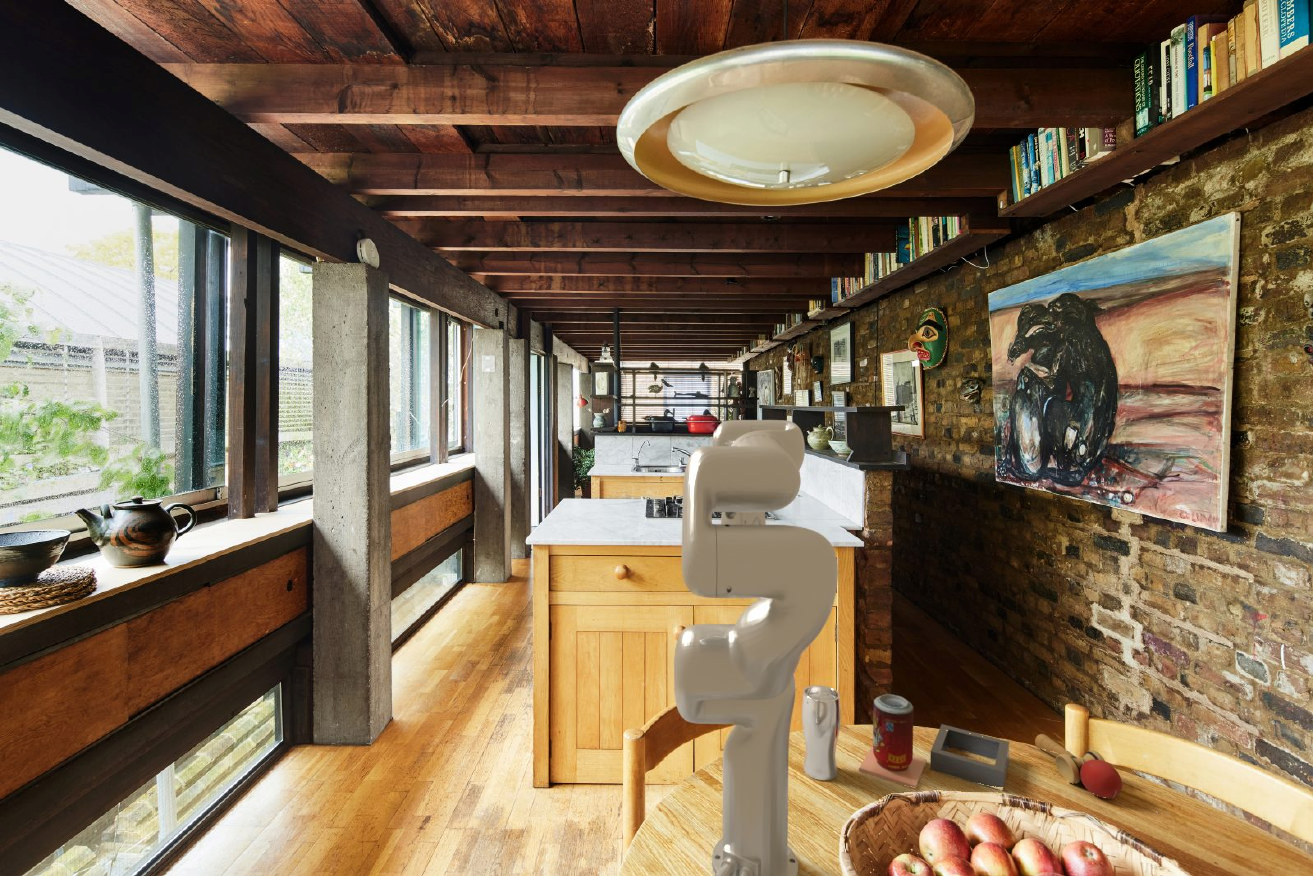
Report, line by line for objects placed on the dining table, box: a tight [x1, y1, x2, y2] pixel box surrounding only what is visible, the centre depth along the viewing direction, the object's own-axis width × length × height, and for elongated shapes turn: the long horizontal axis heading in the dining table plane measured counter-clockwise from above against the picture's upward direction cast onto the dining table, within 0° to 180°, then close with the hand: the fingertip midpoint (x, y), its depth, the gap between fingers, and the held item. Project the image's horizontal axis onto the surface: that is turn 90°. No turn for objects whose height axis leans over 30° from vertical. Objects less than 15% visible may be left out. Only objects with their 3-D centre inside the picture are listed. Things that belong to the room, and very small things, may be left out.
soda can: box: [872, 693, 915, 772], centre depth 116 cm, size 7×7×12 cm
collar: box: [929, 723, 1010, 788], centre depth 117 cm, size 12×12×4 cm
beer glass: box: [801, 684, 842, 782], centre depth 115 cm, size 7×7×15 cm
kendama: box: [1034, 733, 1123, 799], centre depth 114 cm, size 8×6×18 cm
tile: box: [858, 744, 928, 787], centre depth 117 cm, size 10×10×1 cm
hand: (742, 581), depth 113 cm, fingers open, 9 cm apart
